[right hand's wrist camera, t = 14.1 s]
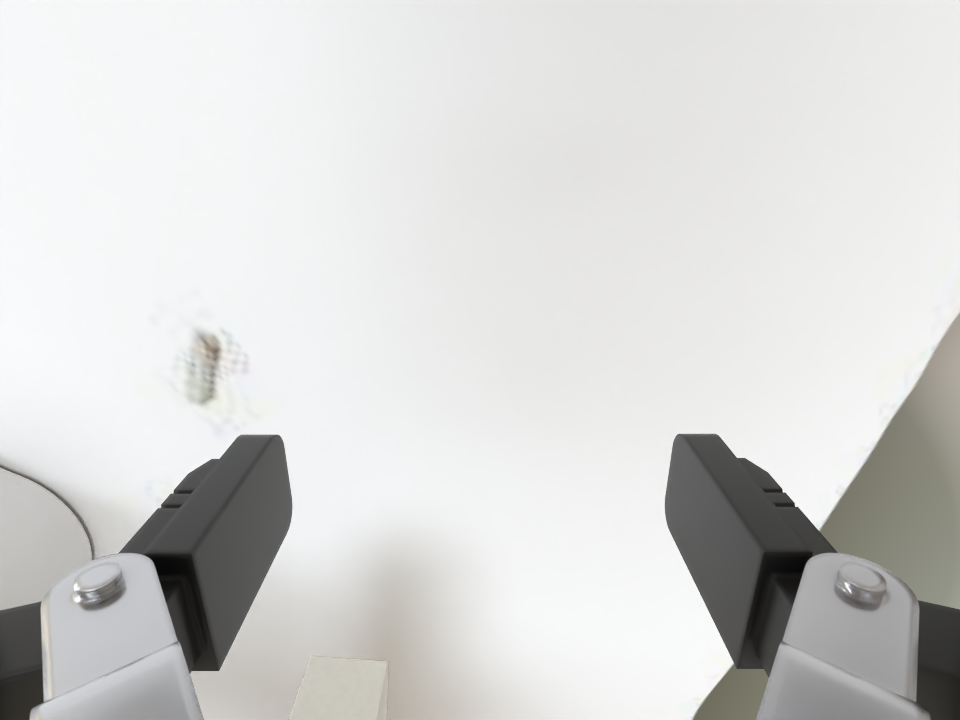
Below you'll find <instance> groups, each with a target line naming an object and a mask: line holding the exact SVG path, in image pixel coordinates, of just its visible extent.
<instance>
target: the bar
mask: <svg viewBox="0 0 960 720" xmlns="http://www.w3.org/2000/svg"><path fill="white" fill-rule="evenodd" d="M388 668H389V663H388V661H378V660H364V659H349V658H335V657H321V656H311V657H310V659H309V662H308V665H307V668H306V671H305V674H304V676H303V679H302V682H301V685H300V688H299V691H298V694H297V697H296V700H295V703H294V706H293V709H292V711H291V714H290V717H289V720H387V710H388Z"/></svg>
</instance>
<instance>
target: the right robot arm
mask: <svg viewBox="0 0 960 720" xmlns="http://www.w3.org/2000/svg"><path fill="white" fill-rule="evenodd" d="M665 514H666V520H667V525H668V528H669V530H670V533H671V535H672V537H673V539H674V541H675V543H676V545H677V547H678V549H679V551H680V553H681V555H682V557H683V559H684V561H685V563H686V565H687V567H688V569H689V572H690V574H691V576H692V578H693V580H694V582H695V584H696V586H697V588H698V590H699V592H700V594H701V596H702V598H703V600H704V602H705V604H706V606H707V608H708V610H709V613H710V615H711V617H712V619H713V621H714V623H715V625H716V627H717V629H718V631H719V633H720V635H721V637H722V639H723V641H724V643H725V645H726V647H727V649H728V651H729V654H730V656H731V658H732V660H733V662H734V664H735V666H736V668H737V669H764V670H765V671H766V673H767V675H768V677H769V680H768V683H767V686H766V690H765V693H764V696H763V699H762V703H761V706H760V709H759V712H758V715H757V719H756V720H960V610H959V609H955V608H950V607H945V606H941V605H936V604H932V603H927V602H923V601H918V600H917V598H916V596H915V594H914V593H913V591H912V590H911V589H910V588H909V587H908V586H907V585H906V584H905V583H904V582H903V581H902V580H901V579H900V578H898V577H897V576H895V575H894V574H893V573H891V572H890V571H888V570H886V569H885V568H883V567H881V566H879V565H877V564H875V563H873V562H870V561H868V560H865V559H862V558H859V557H856V556H852V555H847V554H840V553H837V552H836V550H835V549H834V548H833V547H832V546H831V545H830V543H829V542H828V541H827V540H826V539H825V538H824V537H823V535H822V534H821V533H820V532H819V531H818V530H817V528H816V527H815V526H814V525H813V524H812V523H811V522H810V520H809V519H808V518H807V517H806V516H805V515H804V514H803V512H802V511H801V510H800V509H799V508H798V507H795V503H794V502H793V501H792V500H791V499H790V497H789V496H788V495H787V494H786V493H783V492H782V488H781V487H780V486H779V485H778V484H777V483H776V481H775V480H774V479H773V478H772V477H771V476H770V474H769V473H768V472H766V471H765V470H763V469H761V468H760V467H758V466H757V465H755V464H753V463H752V462H750V461H749V460H747V459H745V458H736V456H735V455H734V454H733V453H732V451H731V450H730V449H729V448H728V446H727V445H726V444H725V443H724V442H723V440H722V439H721V438H720V437H719V436H718V435H717V434H678V435H677V436H676V437H675V439H674V443H673V448H672V455H671V462H670V469H669V476H668V483H667V490H666V496H665ZM291 517H292V496H291V489H290V483H289V476H288V469H287V462H286V455H285V448H284V443H283V440H282V438H281V437H280V436H279V435H240V436H238V437H237V438H236V440H235V441H234V442H233V443H232V445H231V446H230V447H229V448H228V449H227V451H226V452H225V453H224V454H223V455H222V457H221V458H220V459H211V460H210V461H208V462H206V463H205V464H203V465H202V466H200V467H198V468H197V469H195V470H194V471H192V472H190V473H189V474H188V475H187V476H186V477H185V478H184V479H183V481H182V482H181V483H180V484H179V485H178V486H177V487H176V489H175V490H174V494H170V495H169V497H168V498H167V499H166V500H165V501H164V502H163V503H162V504H161V508H158V509H157V510H156V511H155V512H154V514H153V515H152V516H151V517H150V518H149V519H148V520H147V522H146V523H145V524H144V525H143V526H142V527H141V528H140V530H139V531H138V532H137V533H136V534H135V535H134V536H133V537H132V539H131V540H130V541H129V542H128V543H127V544H126V545H125V547H124V548H123V549H122V550H121V551H120V552H119V553H118V554H113V555H108V556H104V557H101V558H98V559H95V560H92V561H90V562H87V563H85V564H83V565H81V566H79V567H77V568H75V569H74V570H72V571H70V572H69V573H67V574H66V575H64V576H63V577H62V578H60V579H59V580H58V581H57V582H56V583H55V584H54V585H53V586H52V587H51V588H50V589H49V590H48V591H47V593H46V594H45V596H44V598H43V600H42V601H40V602H36V603H32V604H27V605H23V606H18V607H14V608H9V609H5V610H0V720H204V719H203V715H202V712H201V709H200V706H199V703H198V699H197V696H196V693H195V690H194V686H193V683H192V680H191V677H190V673H191V671H219V670H220V668H221V666H222V664H223V661H224V659H225V657H226V655H227V653H228V651H229V649H230V647H231V645H232V643H233V641H234V639H235V637H236V635H237V633H238V631H239V629H240V627H241V625H242V623H243V621H244V619H245V617H246V615H247V613H248V611H249V609H250V607H251V605H252V603H253V601H254V599H255V597H256V595H257V593H258V591H259V589H260V587H261V585H262V582H263V580H264V578H265V576H266V574H267V572H268V570H269V568H270V566H271V564H272V562H273V560H274V558H275V556H276V554H277V552H278V550H279V548H280V546H281V544H282V542H283V540H284V538H285V536H286V534H287V532H288V529H289V526H290V522H291Z"/></svg>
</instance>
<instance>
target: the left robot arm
mask: <svg viewBox="0 0 960 720" xmlns="http://www.w3.org/2000/svg"><path fill="white" fill-rule="evenodd" d="M90 561H92V551H91V546H90V542H89V539H88V536H87V534H86V532H85V530H84V528H83V526H82V524H81V523H80V521H79V520H78V518H77V517H76V516H75V514H74V513H73V512H72V511H71V510H70V509H69V508H68V507H67V506H66V505H65V504H64V503H63V502H62V501H61V500H60V499H59V498H58V497H56V496H55V495H54V494H53V493H51V492H50V491H48V490H47V489H45V488H44V487H42V486H40V485H39V484H37V483H35V482H33V481H31V480H29V479H27V478H25V477H23V476H20V475H17V474H15V473H12V472H10V471H7V470H5V469H3V468H1V467H0V610H5V609H9V608H14V607H18V606H23V605H27V604H32V603H36V602H40V601H42V600H43V598H44V596H45V594H46V593H47V591H48V590H49V589H50V588H51V587H52V586H53V585H54V584H55V583H56V582H57V581H58V580H59V579H60V578H62V577H63V576H64V575H66V574H67V573H69V572H70V571H72V570H74V569H75V568H77V567H79V566H81V565H83V564H85V563H87V562H90Z"/></svg>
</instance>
